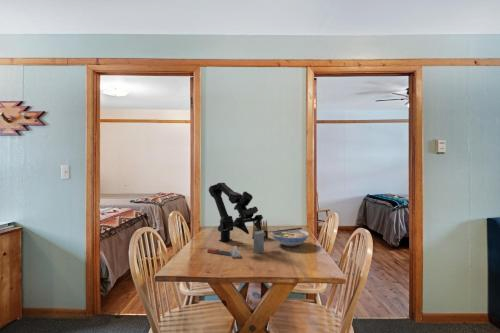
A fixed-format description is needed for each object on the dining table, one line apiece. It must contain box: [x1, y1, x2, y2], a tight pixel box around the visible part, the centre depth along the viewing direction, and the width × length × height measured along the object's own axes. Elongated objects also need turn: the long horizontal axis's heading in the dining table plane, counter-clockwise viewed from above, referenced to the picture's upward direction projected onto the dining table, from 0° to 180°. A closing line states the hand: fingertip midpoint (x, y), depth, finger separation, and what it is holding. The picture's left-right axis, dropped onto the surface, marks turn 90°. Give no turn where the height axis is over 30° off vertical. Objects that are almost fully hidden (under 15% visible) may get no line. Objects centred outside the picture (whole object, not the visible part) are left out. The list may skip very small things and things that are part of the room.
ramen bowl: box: [269, 227, 310, 248], centre depth 164 cm, size 25×23×8 cm
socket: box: [253, 230, 265, 254], centre depth 149 cm, size 4×4×12 cm
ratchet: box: [207, 245, 241, 259], centre depth 145 cm, size 7×20×5 cm, turn 71°
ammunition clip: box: [251, 219, 269, 240], centre depth 180 cm, size 11×2×12 cm, turn 108°
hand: (254, 232), depth 152 cm, fingers open, 9 cm apart
